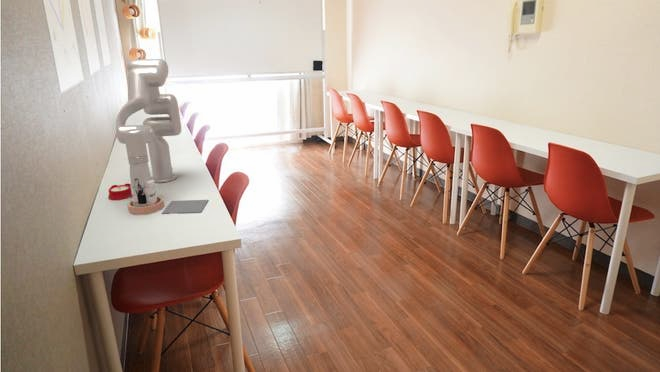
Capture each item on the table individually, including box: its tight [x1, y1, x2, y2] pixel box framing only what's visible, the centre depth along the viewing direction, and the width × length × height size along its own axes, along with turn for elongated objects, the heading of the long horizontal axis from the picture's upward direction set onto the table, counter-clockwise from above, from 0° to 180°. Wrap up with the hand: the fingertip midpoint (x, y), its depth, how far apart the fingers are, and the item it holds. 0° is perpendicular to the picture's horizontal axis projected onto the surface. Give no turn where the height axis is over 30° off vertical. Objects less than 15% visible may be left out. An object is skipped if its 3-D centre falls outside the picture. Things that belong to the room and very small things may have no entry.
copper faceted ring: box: [127, 196, 165, 216], centre depth 185 cm, size 14×14×3 cm
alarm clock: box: [107, 183, 132, 201], centre depth 201 cm, size 10×6×15 cm
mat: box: [161, 199, 209, 215], centre depth 186 cm, size 14×16×1 cm
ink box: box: [129, 180, 158, 207], centre depth 183 cm, size 9×5×12 cm, turn 92°
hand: (145, 200), depth 184 cm, fingers closed on ink box, 5 cm apart
